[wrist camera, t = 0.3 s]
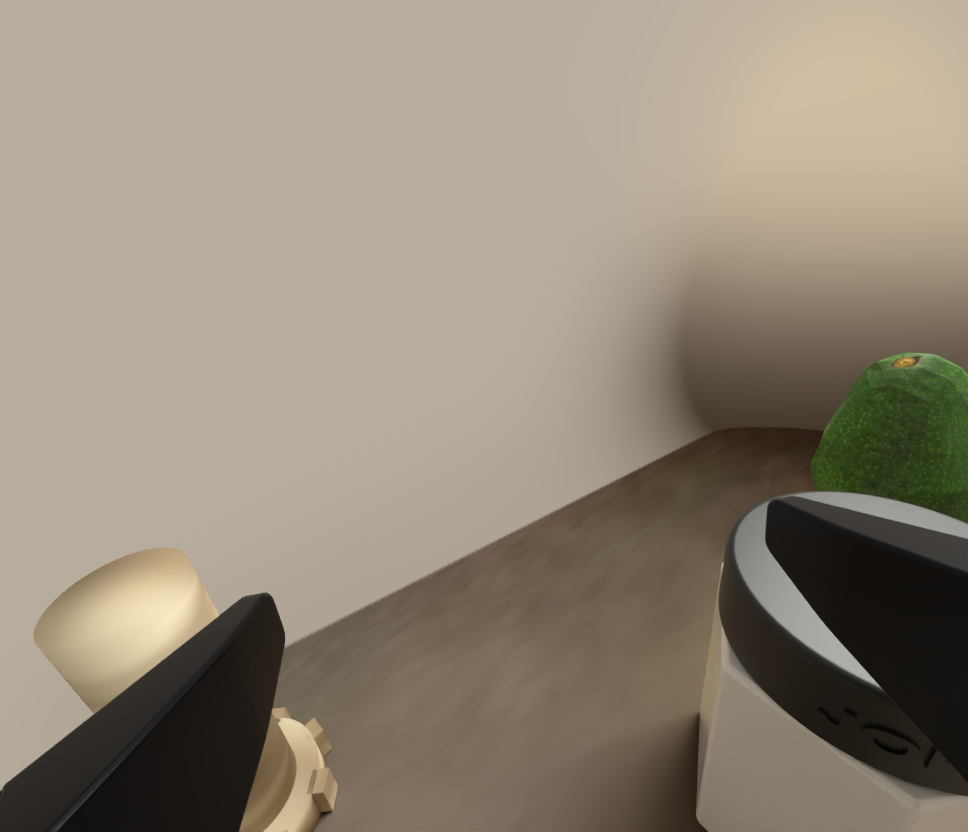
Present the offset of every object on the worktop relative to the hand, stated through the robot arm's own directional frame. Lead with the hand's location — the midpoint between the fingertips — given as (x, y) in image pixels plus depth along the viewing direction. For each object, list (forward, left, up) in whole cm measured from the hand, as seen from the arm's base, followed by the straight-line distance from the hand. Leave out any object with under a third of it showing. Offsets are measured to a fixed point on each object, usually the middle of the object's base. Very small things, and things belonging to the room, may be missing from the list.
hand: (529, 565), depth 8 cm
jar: (+3, -10, -17) cm, 20 cm away
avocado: (+16, -23, -17) cm, 33 cm away
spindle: (+5, +12, -17) cm, 21 cm away
